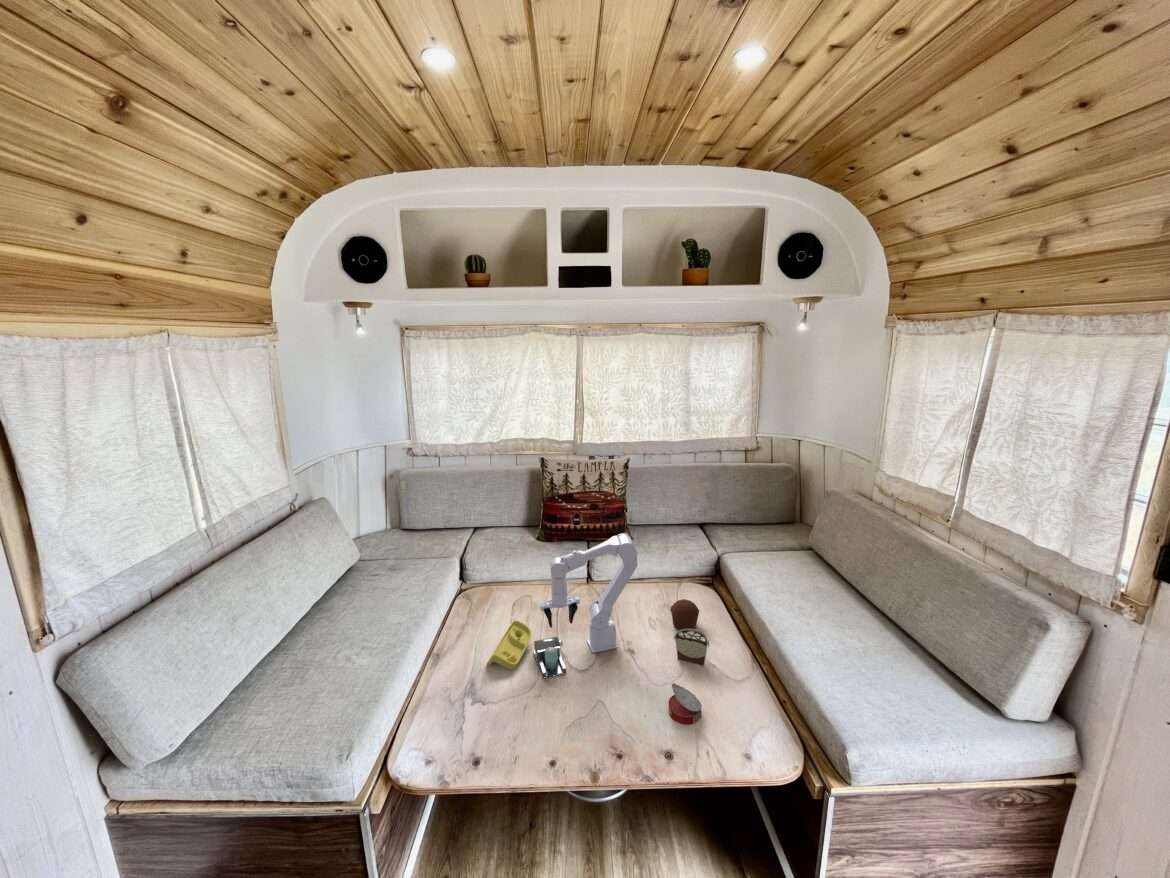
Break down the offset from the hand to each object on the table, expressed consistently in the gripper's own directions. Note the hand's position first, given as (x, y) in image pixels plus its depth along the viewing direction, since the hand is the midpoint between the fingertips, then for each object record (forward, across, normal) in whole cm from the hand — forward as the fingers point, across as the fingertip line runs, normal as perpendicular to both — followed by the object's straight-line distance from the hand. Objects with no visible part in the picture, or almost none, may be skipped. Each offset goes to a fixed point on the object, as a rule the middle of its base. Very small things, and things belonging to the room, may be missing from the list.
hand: (560, 624), depth 179 cm
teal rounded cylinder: (+9, +6, +9) cm, 15 cm away
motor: (+10, +5, +6) cm, 13 cm away
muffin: (+10, -50, +2) cm, 51 cm away
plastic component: (+10, +18, -3) cm, 21 cm away
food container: (+10, -43, +21) cm, 49 cm away
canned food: (+10, -28, +43) cm, 52 cm away
